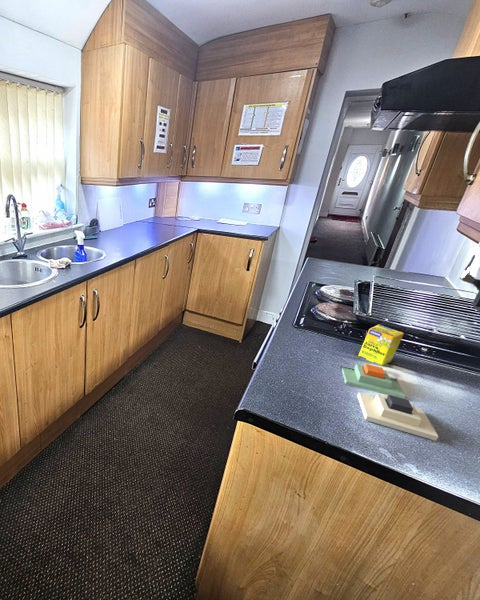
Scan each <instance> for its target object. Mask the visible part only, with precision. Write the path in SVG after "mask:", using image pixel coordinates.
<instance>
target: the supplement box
mask: <svg viewBox="0 0 480 600" xmlns="http://www.w3.org/2000/svg"><path fill="white" fill-rule="evenodd" d="M404 334H405V333H404V332H402V331H398V330H396V329H394V328H390V327H387V326H385V325H382V324H381V323H380V324H377V325H375V326H372V327H370V328H369V329H368V331H367V334H366V335H365V339H364V340H363V342H362V346H361V348H360V350H359V353H358V355H357V356H358V357H359V358H362V359H364V360H366V361H369V362H371V363H373V364H375V365H378V366H380V367H382V366H384V365H387V364H389V363H391V362H392V361H393V358H394V356H395V354H396V352H397V349H398V348H399V345H400V343H401V341H402V339H403V336H404Z"/></svg>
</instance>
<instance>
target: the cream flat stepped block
mask: <svg viewBox="0 0 480 600" xmlns="http://www.w3.org/2000/svg"><path fill="white" fill-rule="evenodd" d="M387 396H388V395H384V394H381V393H376V395H371V394H367V393H365V392H361V391H359V392H357V400H358V403H359V405H360V408H361V409H360V410H361V411H362V415H363V417H364V418H363V419H364V421H367V422H371V423H373V424H378V425H381V426H383V427H387V428H391V429H394V430H398V431H401V432H405V433H408V434H412V435H415V436H417V437H421V438H425V439H428V440H431V441H434V442H437V441H438V439H439V435H438V433H437V432H436V430H435V428H434V426H433V424H432V423H431V421H430V420H429V418H428V417H427V414H426V413H425V411H424V409H423V408H419V407H416V406H415V405H414V404H413V402H410V404H411V406H412V407H413V411H412V413H411V414H407V413H404V412H400V411H397V410H393V409H389V407H388V405H387V403H386V399H387Z"/></svg>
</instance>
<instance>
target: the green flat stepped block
mask: <svg viewBox="0 0 480 600" xmlns="http://www.w3.org/2000/svg"><path fill="white" fill-rule="evenodd" d="M364 366H365V365H363V364H359V363H356V364H355V365H354V368H352V367H351V368H350V367H346V366H342V365H340V370H341V373H342V377H343V381H344V385H347V386H350V387H355V388H359V389H363V390H366V391H371V392H373V393H374V392H375V393H377V394H381V395H385V396H388V395H391V396H395V397H399V398H403V399H406V397H407V396H406V394H405V392H404V390H403V389H402V387H401V385H400V383H399V381H398V379H397V378H393V377H390V376H389V374H388V372H387V370H384V372H385V374H386V375H385V377H384V379H381V378H377V377H373V376H369V375H365V372H364V370H363V368H364Z"/></svg>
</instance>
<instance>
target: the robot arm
mask: <svg viewBox="0 0 480 600" xmlns="http://www.w3.org/2000/svg"><path fill="white" fill-rule="evenodd" d="M459 280H461V281H463V282H466V283H468V284H471V285H473V286H474V287H475V289H476V290H477V291H478V292H477V293H476V295H475V298H474V299H473V302H472V306H473V307H472V308H473V309H475V311H477V312H478V313H480V242H478V244H477V245H476V247H475V248H474V250H473V252H472V253H471V255H470V256H469V258H468V260H467V262H466V264H465V266H464V270H463V273H462V274H461V275H460V276H459Z"/></svg>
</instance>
